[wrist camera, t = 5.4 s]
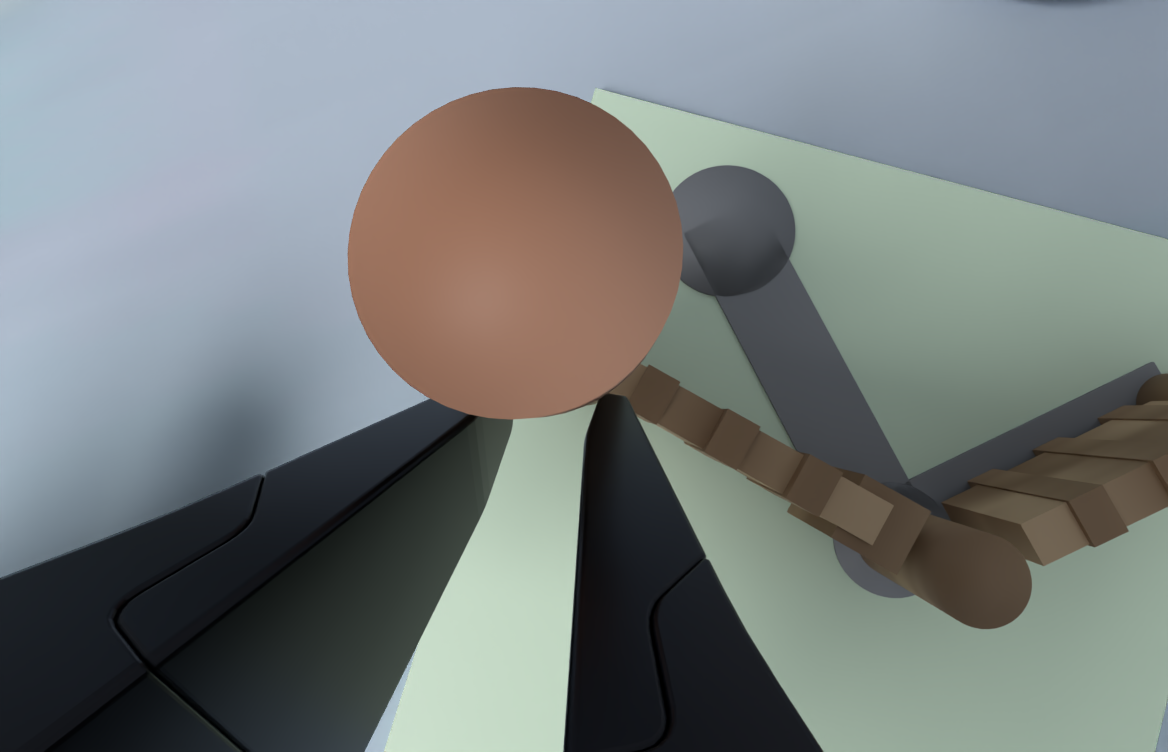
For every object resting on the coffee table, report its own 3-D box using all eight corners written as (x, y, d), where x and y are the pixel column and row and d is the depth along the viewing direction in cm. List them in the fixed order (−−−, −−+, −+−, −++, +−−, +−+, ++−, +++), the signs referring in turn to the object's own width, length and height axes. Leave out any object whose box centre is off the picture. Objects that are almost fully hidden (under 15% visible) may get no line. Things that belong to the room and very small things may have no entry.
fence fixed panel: (870, 583, 15) (963, 645, 11) (837, 519, 15) (916, 557, 11) (1203, 423, 15) (1420, 427, 11) (1165, 360, 15) (1364, 341, 11)
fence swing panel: (877, 470, 15) (1620, 635, 4) (827, 562, 14) (1443, 993, 4) (565, 297, 15) (454, 32, 5) (515, 382, 15) (286, 313, 5)
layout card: (1078, 1011, 14) (1091, 1028, 14) (386, 752, 15) (379, 761, 15) (1260, 270, 15) (1278, 266, 15) (596, 93, 17) (595, 85, 16)
